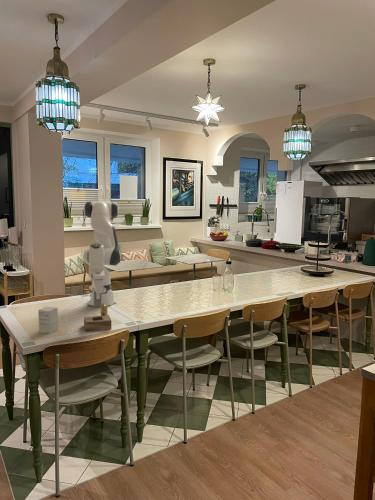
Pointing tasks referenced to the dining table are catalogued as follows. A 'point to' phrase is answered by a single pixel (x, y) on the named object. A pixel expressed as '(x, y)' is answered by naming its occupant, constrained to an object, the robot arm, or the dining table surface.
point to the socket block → (97, 323)
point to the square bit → (96, 301)
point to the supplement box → (48, 319)
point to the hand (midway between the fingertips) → (97, 297)
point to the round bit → (103, 309)
